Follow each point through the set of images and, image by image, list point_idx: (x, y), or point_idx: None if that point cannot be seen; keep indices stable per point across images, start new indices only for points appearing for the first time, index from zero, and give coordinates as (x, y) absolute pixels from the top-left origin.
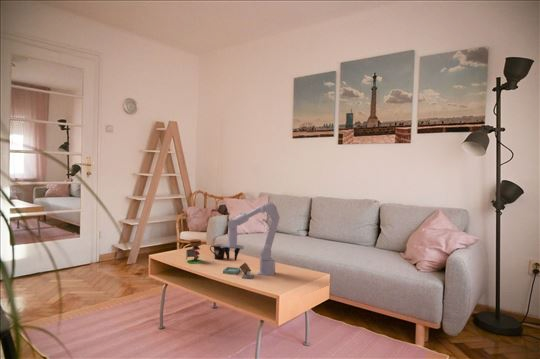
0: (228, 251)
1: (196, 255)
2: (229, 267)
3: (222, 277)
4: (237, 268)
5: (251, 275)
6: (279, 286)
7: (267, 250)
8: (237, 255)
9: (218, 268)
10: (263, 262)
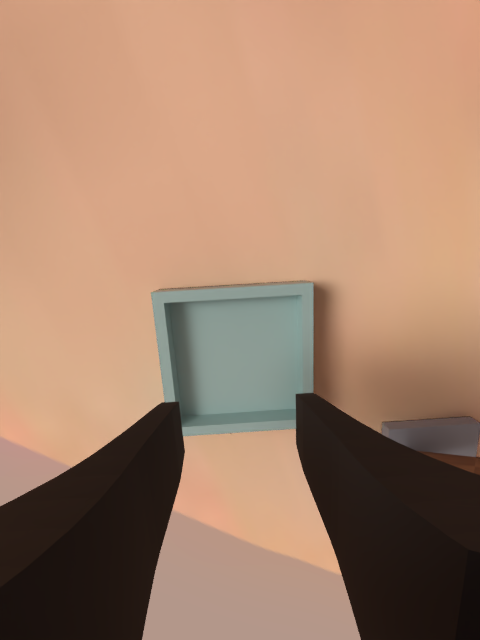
0: (114, 631)
1: None
2: (186, 301)
3: (221, 521)
4: (283, 294)
5: (460, 445)
6: None
7: None
8: (365, 427)
9: (52, 272)
10: None
